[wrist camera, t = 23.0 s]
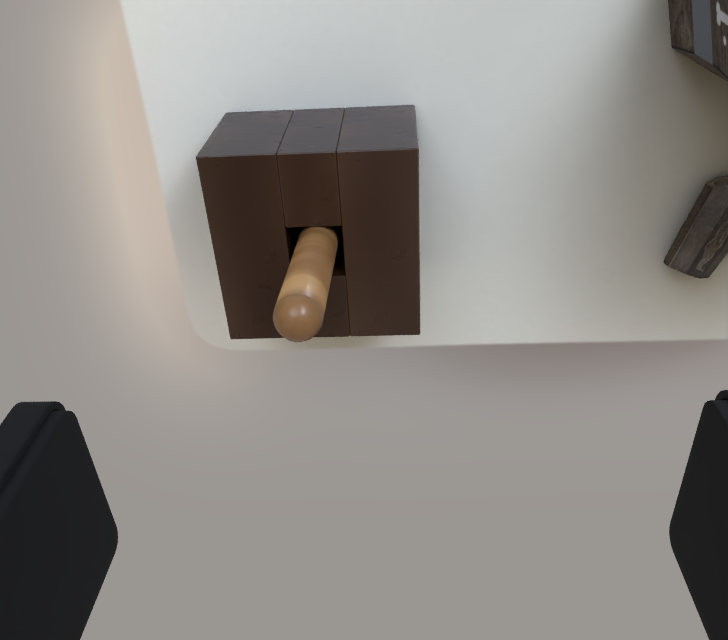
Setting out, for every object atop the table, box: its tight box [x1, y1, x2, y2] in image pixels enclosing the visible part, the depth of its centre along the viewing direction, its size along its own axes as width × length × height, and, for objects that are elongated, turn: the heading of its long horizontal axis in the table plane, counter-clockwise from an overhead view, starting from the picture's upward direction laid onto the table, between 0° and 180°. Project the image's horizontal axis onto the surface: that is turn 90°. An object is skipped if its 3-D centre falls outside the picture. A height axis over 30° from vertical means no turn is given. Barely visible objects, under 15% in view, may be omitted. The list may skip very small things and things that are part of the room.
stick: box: [273, 225, 342, 342], centre depth 34 cm, size 2×2×16 cm
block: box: [664, 176, 728, 278], centre depth 40 cm, size 4×6×2 cm, turn 162°
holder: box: [196, 105, 420, 339], centre depth 38 cm, size 10×10×7 cm
